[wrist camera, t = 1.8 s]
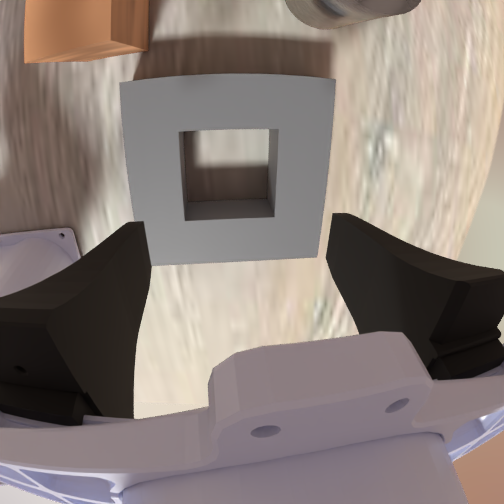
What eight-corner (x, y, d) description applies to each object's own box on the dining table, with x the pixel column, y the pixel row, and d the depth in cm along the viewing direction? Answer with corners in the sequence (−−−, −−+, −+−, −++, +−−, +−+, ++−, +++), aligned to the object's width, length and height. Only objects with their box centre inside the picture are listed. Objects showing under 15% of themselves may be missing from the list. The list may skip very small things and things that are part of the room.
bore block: (149, 243, 23) (143, 266, 21) (132, 80, 17) (119, 82, 14) (306, 236, 25) (317, 257, 22) (319, 77, 18) (335, 79, 16)
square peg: (87, 61, 15) (24, 63, 9) (87, 5, 13) (27, -18, 7) (148, 50, 16) (110, 40, 9) (149, -7, 14) (114, -47, 7)
